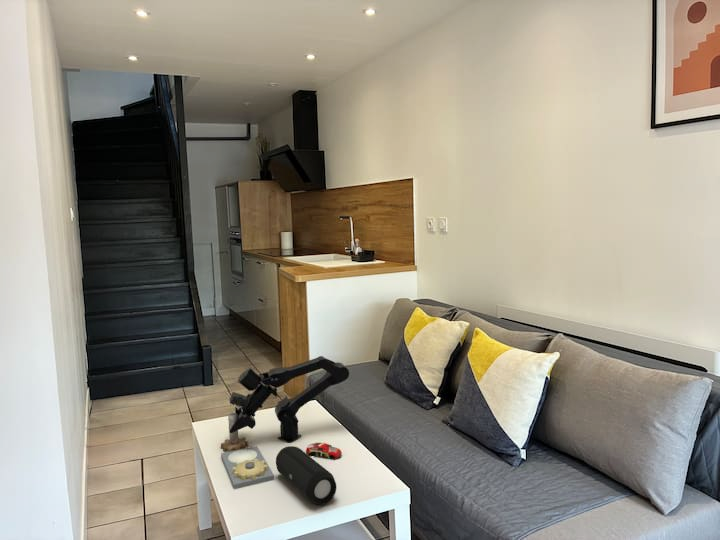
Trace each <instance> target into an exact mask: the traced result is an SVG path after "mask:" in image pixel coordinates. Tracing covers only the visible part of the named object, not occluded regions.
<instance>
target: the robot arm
mask: <svg viewBox="0 0 720 540" xmlns="http://www.w3.org/2000/svg"><path fill="white" fill-rule="evenodd" d="M318 370H319V371H320V370H323V371H326V372H325V374H324V375H323V376H322V377H321V378H319V379H317V380H316V381H315V382H314V383H312V384H310V385H309V386H308V387H306V388H305V389H303V391H301V392H300V393H298V394H297V395H295V396H294V397H292V398H288V396H287V395H286V396H285V397H284V398H283V399H281V400H280V401H277V404H276V405H275V407H274V413H275V415H276V418H277V420H278V421H279V422H280V425H279V426H280V436H278V440H281V441H284V442H287V443H292V442H293V441H296V440H298V439H299V438H301V437H302V435H301V434H300V433H299V419H298V417H297V415H296V414H297V413H298V412H299V410H300V409H301V408H302V407H303V406H305V405H307V404H308V403H309V402H310V401H312V400H314V398H316V397H317V396H318V395H319V396H320V394H321V393H323V392H324V391H326V390H327V389H328V388H330V387H332V386H335V385H339V384H341V383H343V382H345V381H346V380H348V379H349V376H350V370H349V369H348V368H347V366H345V364H343V363H342V362H339V361H338V362H335V361H333V360H331V359H328V358H327V357H324V356H323V355H320V356H317V357H315V358H313V359H310V360H306V361H304V362H300V363H298V364H294V365H292V366H288V367H287V366H285V367H283V366H282V367H281V366H280V367H275V368H270V369H269V370H268V371H267V372H262V373H257V372H256V371H255V370H254V369H253V368H252V367H248V369H246V370H245V371H243V372H242V373H241V374H240V376H238V379H237V383H238V384H240V385H241V386H242V387H243V388H245V389H246V390H247V391H248V392H251V391H252V392H251V393H247V395H244V394H241V393H238V392H235V391H232V392H231V394H230V398H229V404H230V405H233V406H234V405H235V407H234V413H236V414H237V420H236V421H235V423H234V424H233V426H232V427H231V429H230V431H229V430H228V433H229V432H230V433H233V432H235V431H237V430H238V431H239V430H241V429H244V428H247V427H248V428H250V429H251V430H253V428H255V426H256V423H257V422H256V419H255V416H256V413H257V412H258V410H259V409H263V407H264V406H263V405H264V404H265V402H266V401H267V400H268V399H269V397H270V396H271V395H273V396H275V397H278V389H277V388H280V387H282V386H284V385H285V384H288V383H289V382H290V381H291V380H293V379H295V378H297V377H298V378H299V377H301V376H303V375H304V376H305V375H307V374H309V373H310V374H311V373H313V372H315V371H318ZM236 406H237V407H236ZM228 429H229V426H228Z"/></svg>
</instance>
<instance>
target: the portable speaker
mask: <svg viewBox="0 0 720 540" xmlns="http://www.w3.org/2000/svg"><path fill="white" fill-rule="evenodd" d="M275 466H276V469H277V470H276V471H278V473H279V474H280V475H281V476H282V477H284V479H285V480H287V481H288V483H290V484H291V485H292V486H293V487H294V488H295V489H297V491H298V492H300V493H301V494H302V495H303V496H304V498H306V499H307V500H308V501H309V502H310V503H312V504H315V505H326V504H327V503H329V502H331V501H332V500H333V498H334V496H335V495H336V492H337V482H336V480H335V478H334V475H333V474H332V473H331V472H330V471H329V470H327V469H326V468H325V467H324V466H322V465H321V464H320V463H319V462H317V461H316V460H315V459H314V458H312V456H310V455H307V454H306V451H304V450H302V449H301V448H300V447H297V446H293V445H291V446H285V447H283V448H281V449H280V450H279V451H278V453H277V454H276V457H275Z"/></svg>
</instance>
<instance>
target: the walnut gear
mask: <svg viewBox="0 0 720 540" xmlns="http://www.w3.org/2000/svg"><path fill="white" fill-rule="evenodd" d="M227 419H228V421H227V422H228V427H229V428H228V434H229V438H226V439H224V442H222V443H220V449H221V450H222V453H225V452H230V451H235V450H240V449H244V448H248V446H249V443H248V442H249V441H248V440H246V437H242V438H240V437H239V430H237V431H235V432H233V433H230V432H229V431H230V429H231V427H232V426H233V424H234V423H235V421H236V420H237V414H236V413H235V412H234V413H233V412H232V413H229V414H228V418H227Z"/></svg>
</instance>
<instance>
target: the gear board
mask: <svg viewBox="0 0 720 540" xmlns="http://www.w3.org/2000/svg"><path fill="white" fill-rule="evenodd" d="M220 457H221V461H222V463H223V466H224V468H225V470H226V473H227V475H228V477H229V479H230V482H231V484H232V487H233V489H234V490H236V489H240V488H245V487H249V486H253V485H257V484H261V483H265V482H270V481H274V480H275V474H274V473H273V471H272V469H271V467H270V466H269V464H268V462H267V460H266V458H265V457H264V455H263V454H262V451H261V450H260V448H259V447H258V445H255V446H250V447H245V448H244V449H240V450H235V451H230V452H228V451H227V452H221V453H220Z"/></svg>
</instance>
